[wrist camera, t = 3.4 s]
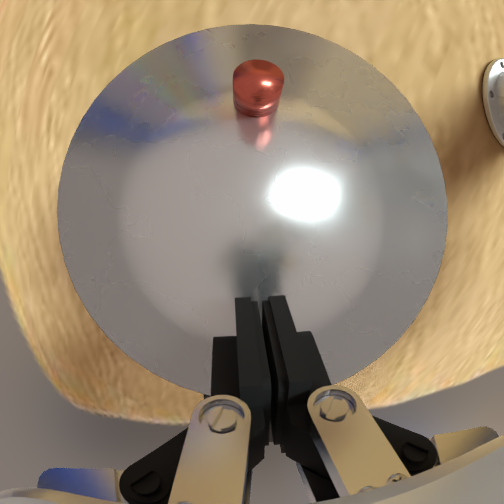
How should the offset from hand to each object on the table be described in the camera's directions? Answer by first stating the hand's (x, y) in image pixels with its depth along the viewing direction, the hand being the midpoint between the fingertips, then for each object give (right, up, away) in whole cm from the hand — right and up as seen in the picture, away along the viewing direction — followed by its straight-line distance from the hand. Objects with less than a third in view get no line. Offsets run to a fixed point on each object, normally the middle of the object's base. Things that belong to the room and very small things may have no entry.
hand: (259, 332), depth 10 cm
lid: (0, +5, +2) cm, 5 cm away
